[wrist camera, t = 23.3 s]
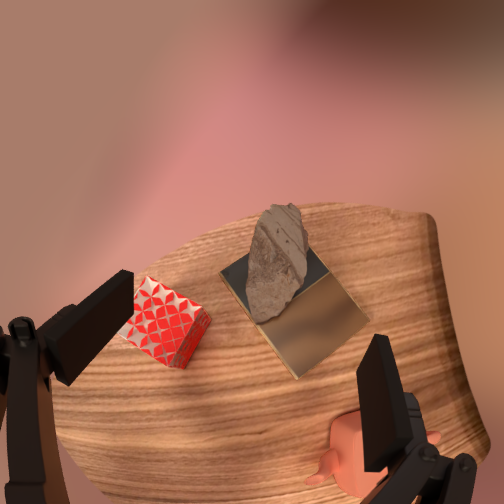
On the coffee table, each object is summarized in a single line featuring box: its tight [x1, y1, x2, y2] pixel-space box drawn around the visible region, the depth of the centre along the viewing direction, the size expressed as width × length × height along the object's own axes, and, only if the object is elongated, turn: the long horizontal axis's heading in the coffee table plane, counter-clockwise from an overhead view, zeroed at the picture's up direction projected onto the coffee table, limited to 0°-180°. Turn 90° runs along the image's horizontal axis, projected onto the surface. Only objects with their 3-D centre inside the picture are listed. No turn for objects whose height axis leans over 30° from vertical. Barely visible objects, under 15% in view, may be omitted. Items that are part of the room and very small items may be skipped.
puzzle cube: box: [117, 275, 211, 369], centre depth 37 cm, size 8×8×8 cm
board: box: [219, 244, 370, 380], centre depth 41 cm, size 18×13×1 cm
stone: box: [246, 203, 309, 325], centre depth 40 cm, size 15×9×10 cm
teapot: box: [304, 411, 441, 498], centre depth 29 cm, size 12×18×10 cm, turn 97°
